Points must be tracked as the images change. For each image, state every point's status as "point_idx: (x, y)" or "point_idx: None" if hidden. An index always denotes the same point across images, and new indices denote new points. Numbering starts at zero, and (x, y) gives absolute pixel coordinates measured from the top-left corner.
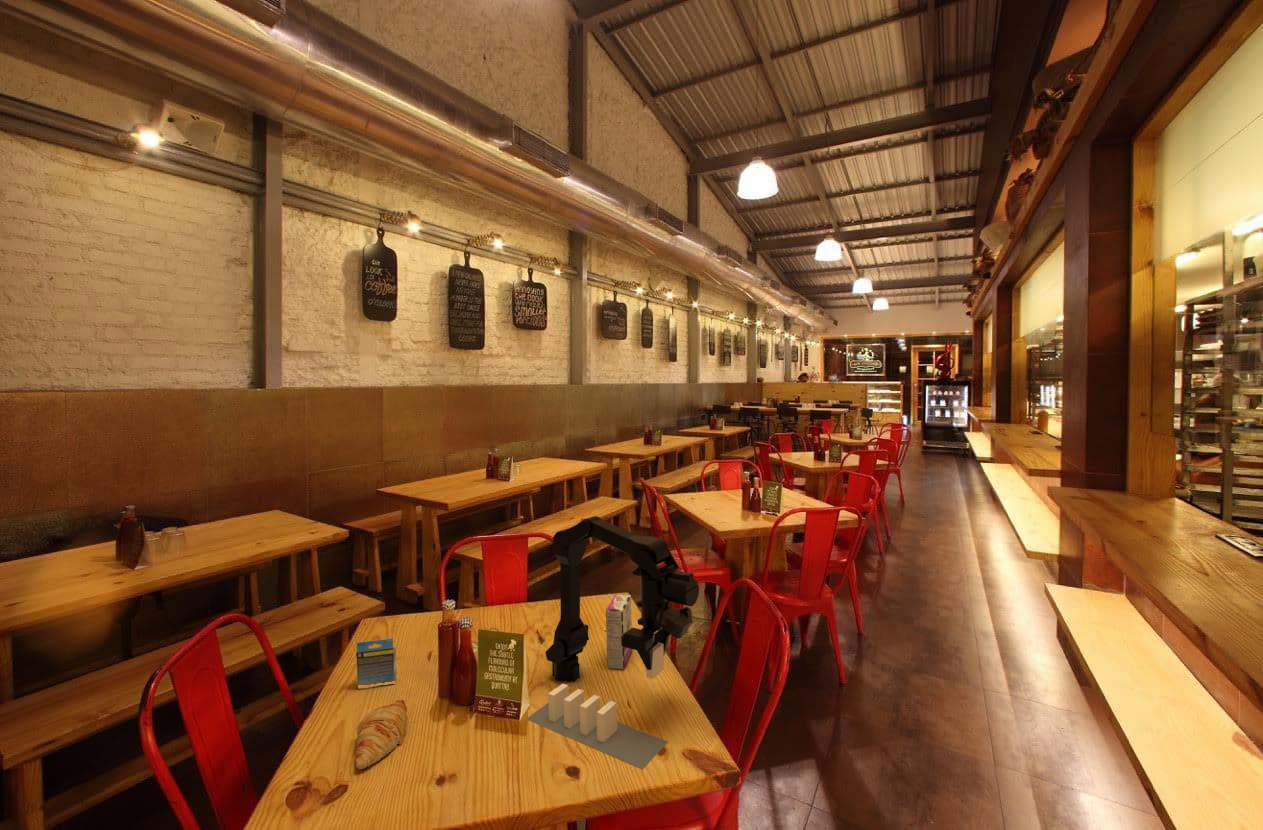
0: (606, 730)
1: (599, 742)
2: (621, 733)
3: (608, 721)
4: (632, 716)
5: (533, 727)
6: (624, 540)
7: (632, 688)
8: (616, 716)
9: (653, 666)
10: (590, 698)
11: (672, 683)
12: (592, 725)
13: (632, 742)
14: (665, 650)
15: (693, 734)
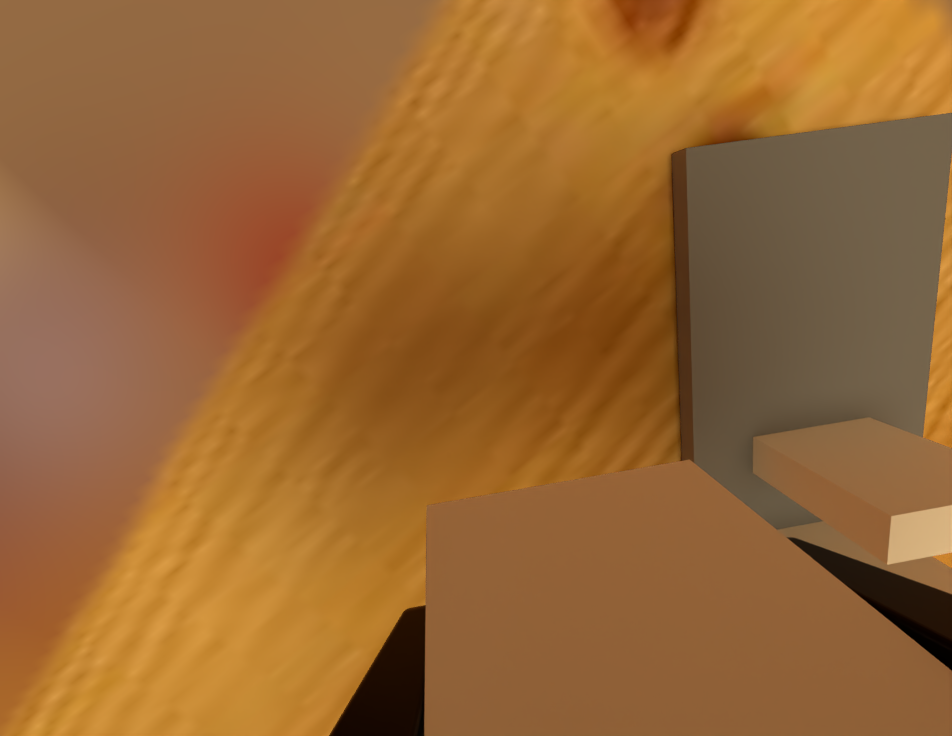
0: (887, 440)
1: None
2: (764, 402)
3: (911, 460)
4: (570, 475)
5: None
6: None
7: (366, 645)
8: (817, 470)
9: (756, 549)
10: None
11: (147, 528)
12: (836, 536)
13: (798, 306)
14: (345, 728)
15: (492, 95)
